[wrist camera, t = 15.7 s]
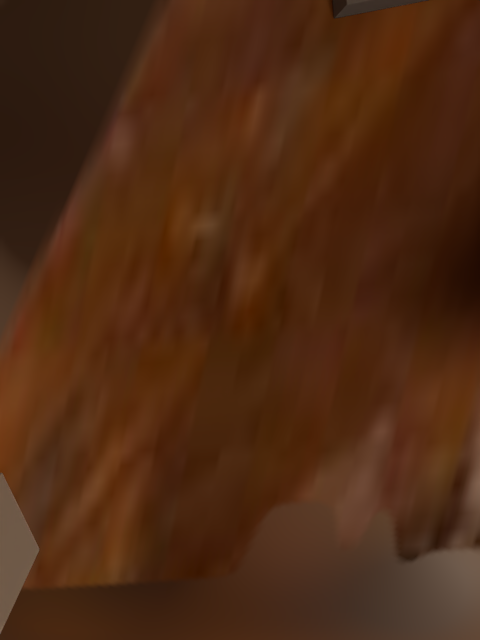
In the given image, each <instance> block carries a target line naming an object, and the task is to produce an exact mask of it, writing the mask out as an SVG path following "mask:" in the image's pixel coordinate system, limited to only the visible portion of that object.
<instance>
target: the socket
mask: <svg viewBox="0 0 480 640" xmlns="http://www.w3.org/2000/svg"><path fill="white" fill-rule="evenodd" d="M422 1H427V0H333V12H334V18H339V17H344V16H349V15H355V14H360V13H365V12H370V11H375V10H381V9H386V8H391V7H396V6H401V5H407V4H412V3H417V2H422Z"/></svg>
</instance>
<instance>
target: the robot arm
mask: <svg viewBox="0 0 480 640" xmlns="http://www.w3.org/2000/svg"><path fill="white" fill-rule="evenodd" d="M39 550H40V549H39V547H38V545H37V543H36V541H35V539H34V537H33V535H32V533H31V531H30V529H29V527H28V525H27V523H26V521H25V519H24V516H23V514H22V512H21V510H20V508H19V506H18V504H17V502H16V500H15V498H14V496H13V494H12V492H11V490H10V488H9V486H8V484H7V482H6V480H5V478H4V476H3V474H2V473H0V633H1V631H2V629H3V627H4V624H5V622H6V620H7V618H8V616H9V614H10V612H11V610H12V607H13V605H14V603H15V601H16V599H17V597H18V595H19V592H20V590H21V588H22V586H23V584H24V582H25V580H26V577H27V575H28V573H29V571H30V569H31V567H32V565H33V562H34V560H35V558H36V556H37V554H38V552H39Z"/></svg>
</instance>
